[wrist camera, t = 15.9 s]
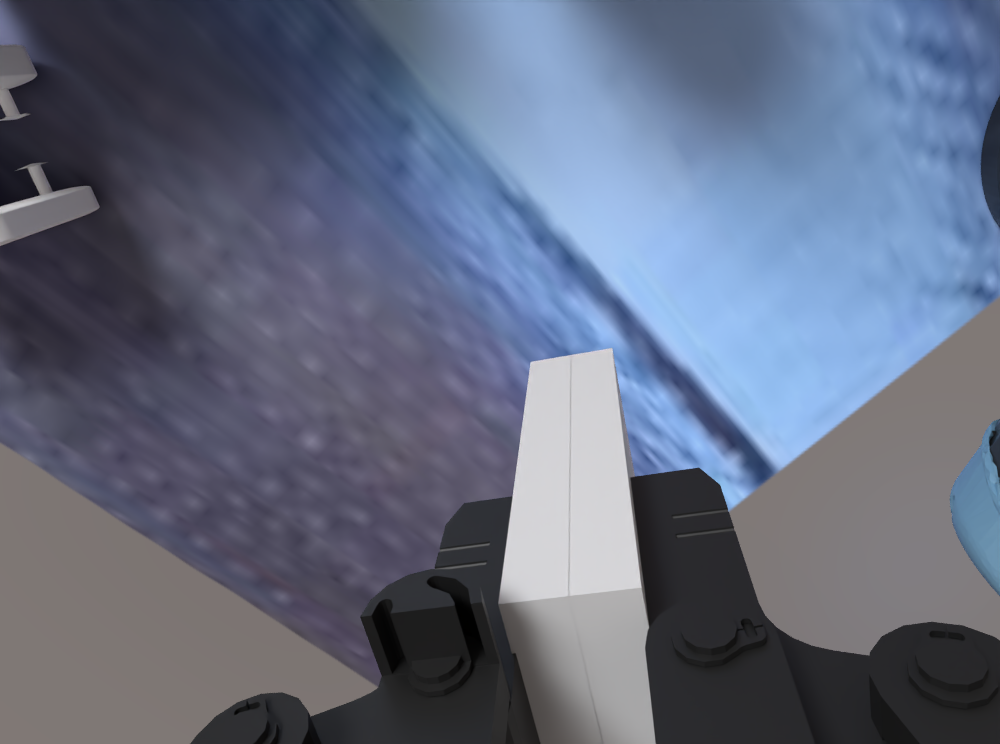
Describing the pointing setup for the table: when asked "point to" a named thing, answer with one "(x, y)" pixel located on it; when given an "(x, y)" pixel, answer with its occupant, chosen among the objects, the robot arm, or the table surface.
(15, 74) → the cable organizer
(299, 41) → the table surface
